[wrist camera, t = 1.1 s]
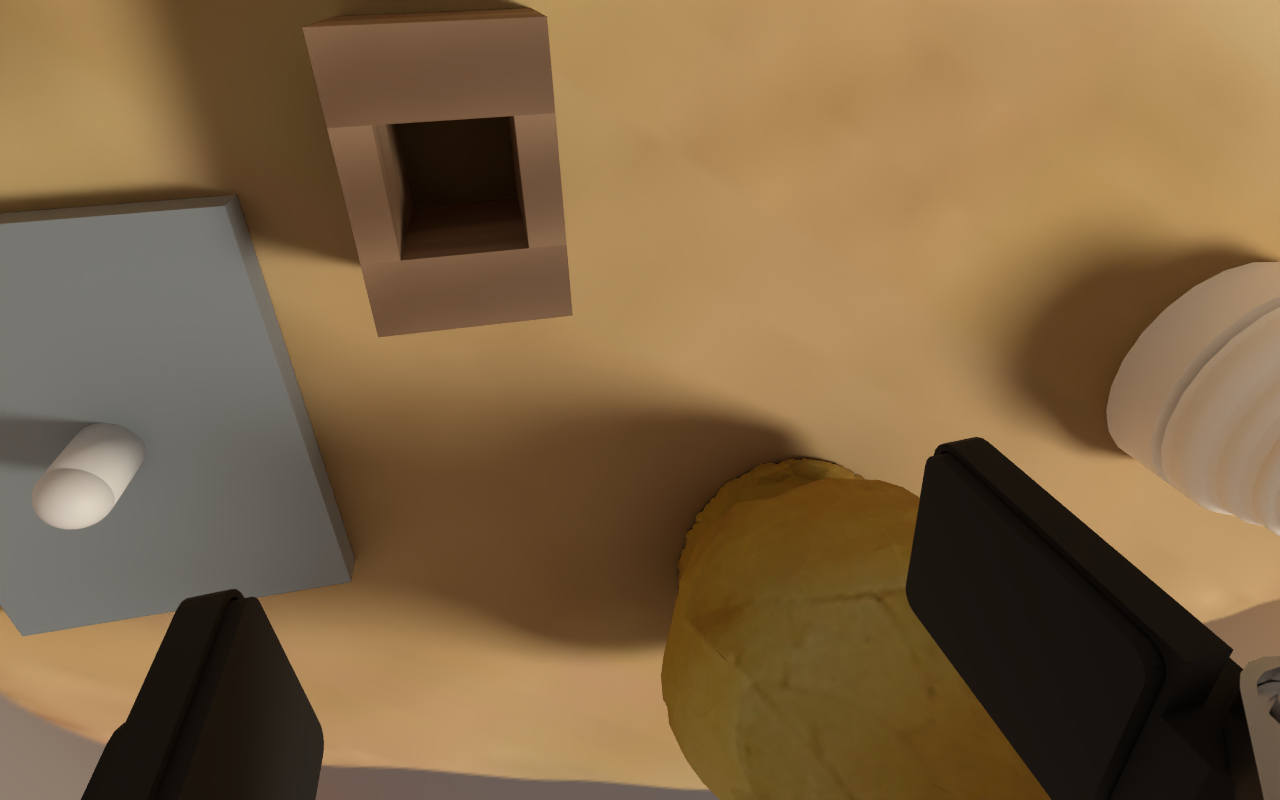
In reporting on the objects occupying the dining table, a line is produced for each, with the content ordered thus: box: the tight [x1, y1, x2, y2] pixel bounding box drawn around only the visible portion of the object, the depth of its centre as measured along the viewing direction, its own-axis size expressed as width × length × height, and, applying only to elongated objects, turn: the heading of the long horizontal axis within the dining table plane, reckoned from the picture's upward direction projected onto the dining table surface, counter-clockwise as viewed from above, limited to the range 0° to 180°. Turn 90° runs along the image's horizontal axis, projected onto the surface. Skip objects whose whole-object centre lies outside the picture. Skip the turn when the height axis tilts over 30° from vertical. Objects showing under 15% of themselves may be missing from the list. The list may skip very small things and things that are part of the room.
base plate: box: [0, 195, 355, 636], centre depth 27 cm, size 18×14×6 cm
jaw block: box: [302, 8, 572, 337], centre depth 24 cm, size 9×6×6 cm
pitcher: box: [661, 458, 1051, 800], centre depth 30 cm, size 17×19×25 cm
